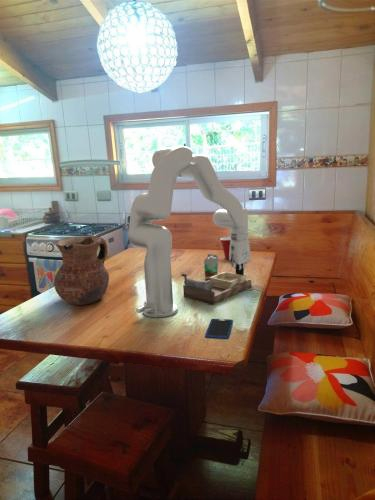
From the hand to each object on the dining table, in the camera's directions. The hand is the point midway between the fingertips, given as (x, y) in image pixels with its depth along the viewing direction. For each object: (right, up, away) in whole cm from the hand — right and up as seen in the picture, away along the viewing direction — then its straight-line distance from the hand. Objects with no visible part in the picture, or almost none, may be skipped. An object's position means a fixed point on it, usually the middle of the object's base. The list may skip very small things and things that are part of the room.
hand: (239, 277), depth 158 cm
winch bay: (-10, -5, -10) cm, 15 cm away
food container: (-11, -1, +10) cm, 15 cm away
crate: (-6, -3, -6) cm, 9 cm away
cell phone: (-13, -13, -44) cm, 48 cm away
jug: (-65, -8, -12) cm, 67 cm away
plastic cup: (+1, +7, +46) cm, 47 cm away
